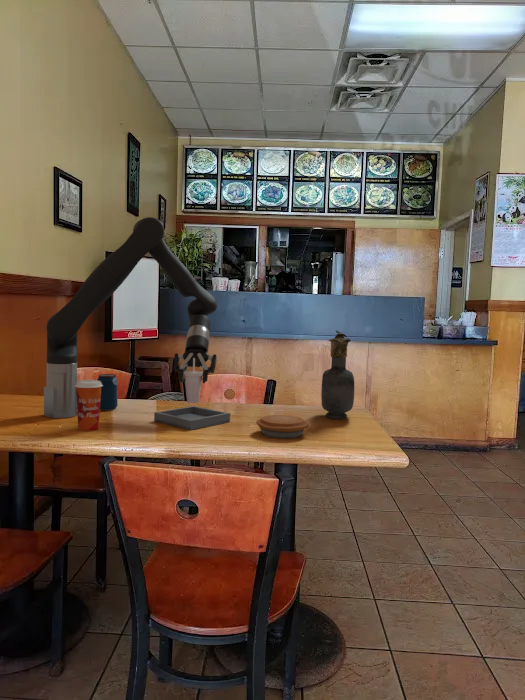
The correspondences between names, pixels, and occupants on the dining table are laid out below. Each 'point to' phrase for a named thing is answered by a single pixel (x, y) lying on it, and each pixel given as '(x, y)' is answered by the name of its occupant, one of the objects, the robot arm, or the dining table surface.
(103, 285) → the robot arm
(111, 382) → the soda can
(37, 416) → the dining table surface
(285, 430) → the pie
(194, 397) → the smoothie
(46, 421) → the dining table surface
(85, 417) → the paper cup
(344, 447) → the dining table surface
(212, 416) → the tray
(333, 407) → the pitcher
